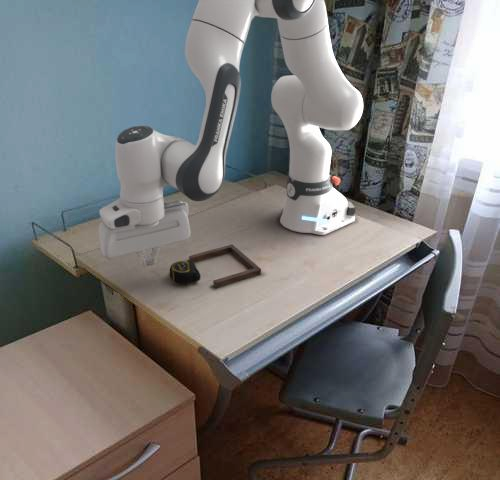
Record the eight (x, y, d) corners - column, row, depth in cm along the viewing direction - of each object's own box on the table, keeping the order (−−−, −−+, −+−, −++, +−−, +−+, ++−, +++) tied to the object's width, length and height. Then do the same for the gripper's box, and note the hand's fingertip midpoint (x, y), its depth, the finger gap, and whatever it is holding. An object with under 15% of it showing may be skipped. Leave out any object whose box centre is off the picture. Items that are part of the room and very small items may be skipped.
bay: (232, 249, 137) (232, 244, 136) (261, 274, 127) (261, 268, 126) (189, 261, 131) (188, 255, 130) (215, 288, 121) (215, 282, 120)
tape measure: (201, 285, 122) (201, 271, 120) (173, 289, 121) (172, 275, 118) (195, 270, 128) (194, 257, 125) (167, 274, 126) (166, 261, 124)
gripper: (181, 193, 115) (184, 247, 123) (91, 211, 106) (101, 269, 114) (194, 203, 111) (196, 259, 119) (101, 223, 102) (110, 282, 110)
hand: (149, 264), depth 117 cm, fingers closed
